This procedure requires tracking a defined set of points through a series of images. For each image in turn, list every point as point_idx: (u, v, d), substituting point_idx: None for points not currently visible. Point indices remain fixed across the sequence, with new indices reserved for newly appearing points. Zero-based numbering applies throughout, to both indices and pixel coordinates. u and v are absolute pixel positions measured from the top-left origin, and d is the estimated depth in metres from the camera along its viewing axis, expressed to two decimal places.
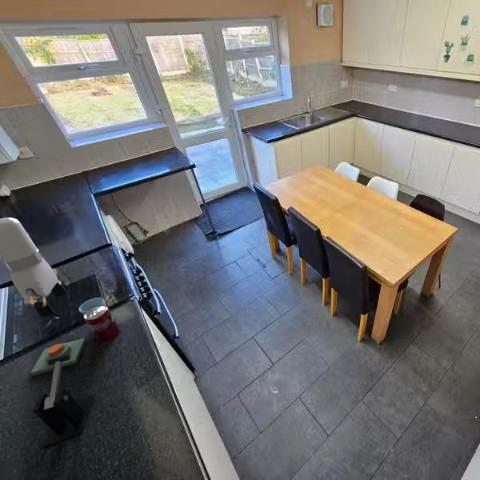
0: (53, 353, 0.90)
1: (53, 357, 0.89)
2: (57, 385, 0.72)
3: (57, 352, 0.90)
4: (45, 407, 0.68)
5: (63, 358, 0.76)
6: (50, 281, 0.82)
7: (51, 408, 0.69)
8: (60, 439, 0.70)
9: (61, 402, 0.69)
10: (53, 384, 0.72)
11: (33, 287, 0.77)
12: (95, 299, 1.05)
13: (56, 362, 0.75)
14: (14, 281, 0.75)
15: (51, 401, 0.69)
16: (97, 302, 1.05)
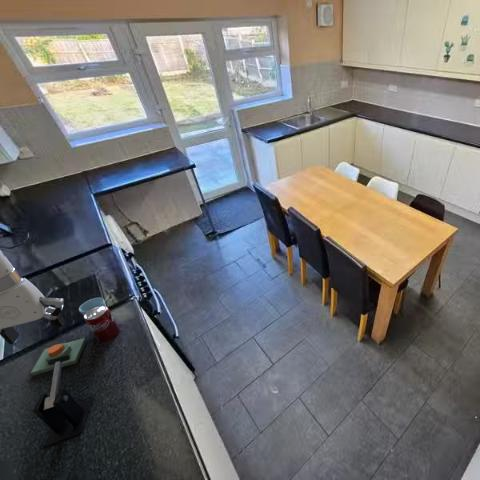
0: (53, 353, 0.90)
1: (53, 357, 0.89)
2: (57, 385, 0.72)
3: (57, 352, 0.90)
4: (45, 407, 0.68)
5: (63, 358, 0.76)
6: None
7: (51, 408, 0.69)
8: (60, 439, 0.70)
9: (61, 402, 0.69)
10: (53, 384, 0.72)
11: (41, 295, 0.68)
12: (95, 299, 1.05)
13: (56, 362, 0.75)
14: (26, 294, 0.64)
15: (51, 401, 0.69)
16: (97, 302, 1.05)
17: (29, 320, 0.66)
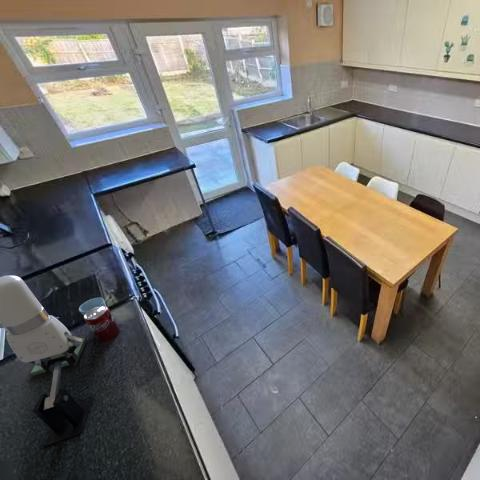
0: None
1: (53, 357, 0.89)
2: (57, 385, 0.72)
3: None
4: (45, 407, 0.68)
5: (63, 358, 0.76)
6: None
7: (51, 408, 0.69)
8: (60, 439, 0.70)
9: (61, 402, 0.69)
10: (53, 384, 0.72)
11: (66, 329, 0.74)
12: (95, 299, 1.05)
13: (56, 362, 0.75)
14: (54, 330, 0.70)
15: (51, 401, 0.69)
16: (97, 302, 1.05)
17: (55, 353, 0.72)
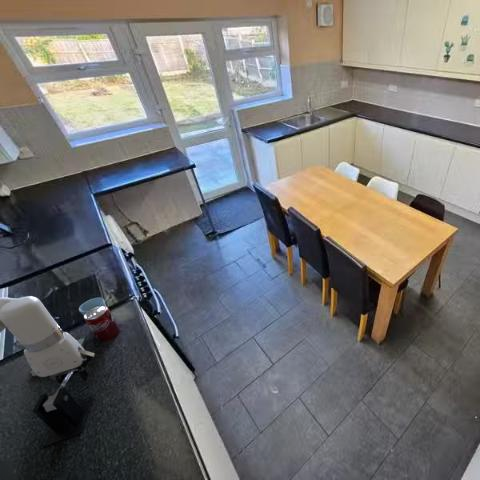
0: None
1: None
2: None
3: None
4: (45, 403, 0.68)
5: (76, 369, 0.80)
6: None
7: (49, 406, 0.69)
8: (60, 439, 0.70)
9: (61, 402, 0.69)
10: (59, 388, 0.74)
11: (79, 345, 0.78)
12: (95, 299, 1.05)
13: (69, 373, 0.79)
14: (68, 347, 0.74)
15: (52, 398, 0.70)
16: (97, 302, 1.05)
17: (70, 368, 0.76)
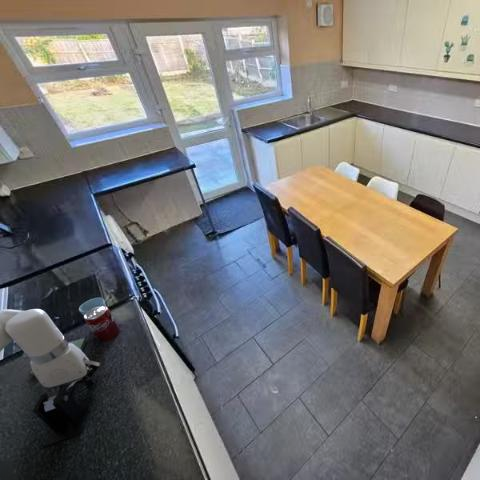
0: None
1: None
2: None
3: None
4: (45, 401, 0.69)
5: (80, 379, 0.81)
6: None
7: (49, 404, 0.69)
8: (60, 439, 0.70)
9: (61, 402, 0.69)
10: None
11: (84, 355, 0.79)
12: (95, 299, 1.05)
13: (73, 382, 0.80)
14: (74, 358, 0.75)
15: (53, 397, 0.70)
16: (97, 302, 1.05)
17: (75, 378, 0.77)
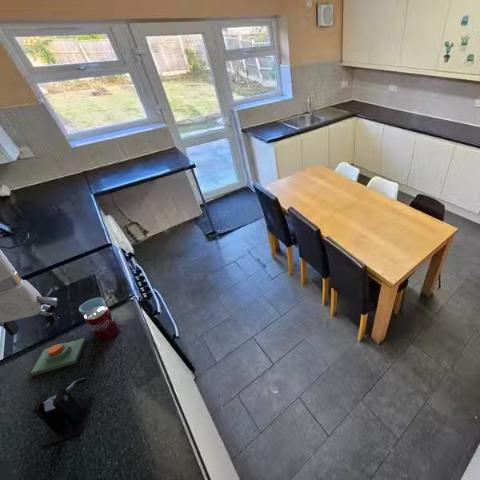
0: (53, 353, 0.90)
1: (53, 357, 0.89)
2: None
3: (57, 352, 0.90)
4: (45, 401, 0.69)
5: (80, 379, 0.81)
6: None
7: (49, 404, 0.69)
8: (60, 439, 0.70)
9: (61, 402, 0.69)
10: None
11: (38, 294, 0.79)
12: (95, 299, 1.05)
13: (73, 382, 0.80)
14: (26, 293, 0.75)
15: (53, 397, 0.70)
16: (97, 302, 1.05)
17: (28, 315, 0.78)
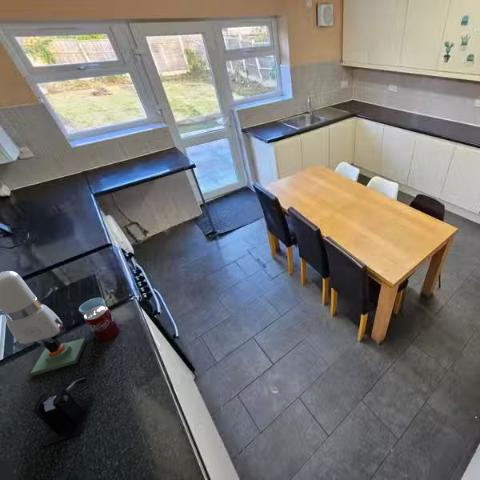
0: (54, 354, 0.90)
1: (53, 357, 0.89)
2: None
3: (58, 353, 0.91)
4: (45, 401, 0.69)
5: (80, 379, 0.81)
6: None
7: (49, 404, 0.69)
8: (60, 439, 0.70)
9: (61, 402, 0.69)
10: None
11: (56, 317, 0.88)
12: (95, 299, 1.05)
13: (73, 382, 0.80)
14: (46, 317, 0.84)
15: (53, 397, 0.70)
16: (97, 302, 1.05)
17: (47, 336, 0.86)
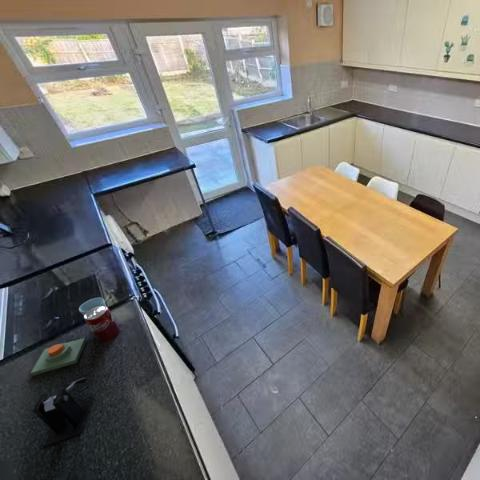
0: (53, 353, 0.90)
1: (53, 357, 0.89)
2: None
3: (57, 352, 0.90)
4: (45, 401, 0.69)
5: (80, 379, 0.81)
6: None
7: (49, 404, 0.69)
8: (60, 439, 0.70)
9: (61, 402, 0.69)
10: None
11: None
12: (95, 299, 1.05)
13: (73, 382, 0.80)
14: None
15: (53, 397, 0.70)
16: (97, 302, 1.05)
17: None
